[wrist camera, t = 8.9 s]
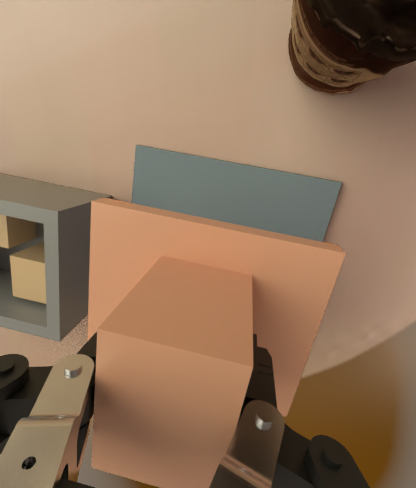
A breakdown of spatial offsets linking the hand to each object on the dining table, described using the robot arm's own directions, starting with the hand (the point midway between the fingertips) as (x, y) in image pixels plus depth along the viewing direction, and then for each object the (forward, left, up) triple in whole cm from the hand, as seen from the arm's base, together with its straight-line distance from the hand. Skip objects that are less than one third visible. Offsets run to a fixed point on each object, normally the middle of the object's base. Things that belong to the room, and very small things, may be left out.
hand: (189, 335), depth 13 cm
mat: (0, 0, -12) cm, 12 cm away
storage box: (+2, -16, -12) cm, 20 cm away
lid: (0, 0, -4) cm, 4 cm away
